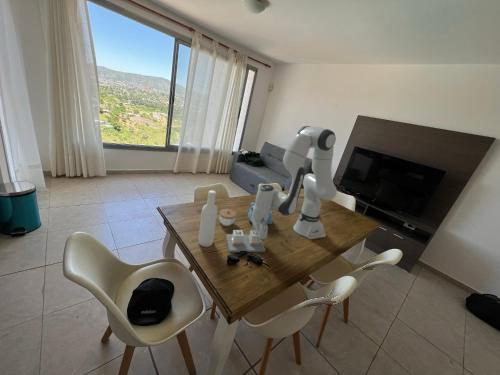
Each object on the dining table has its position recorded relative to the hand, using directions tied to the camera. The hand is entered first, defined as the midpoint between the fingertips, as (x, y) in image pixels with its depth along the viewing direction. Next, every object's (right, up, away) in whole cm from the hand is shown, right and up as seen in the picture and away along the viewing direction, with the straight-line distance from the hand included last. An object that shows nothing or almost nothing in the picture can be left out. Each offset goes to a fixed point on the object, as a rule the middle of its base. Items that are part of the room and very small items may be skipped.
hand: (255, 235), depth 115 cm
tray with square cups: (-6, -5, +1) cm, 8 cm away
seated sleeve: (-11, -3, -1) cm, 11 cm away
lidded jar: (-19, +4, +16) cm, 25 cm away
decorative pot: (+3, +3, +26) cm, 27 cm away
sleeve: (-1, -4, +2) cm, 5 cm away
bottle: (-27, -3, -5) cm, 28 cm away
